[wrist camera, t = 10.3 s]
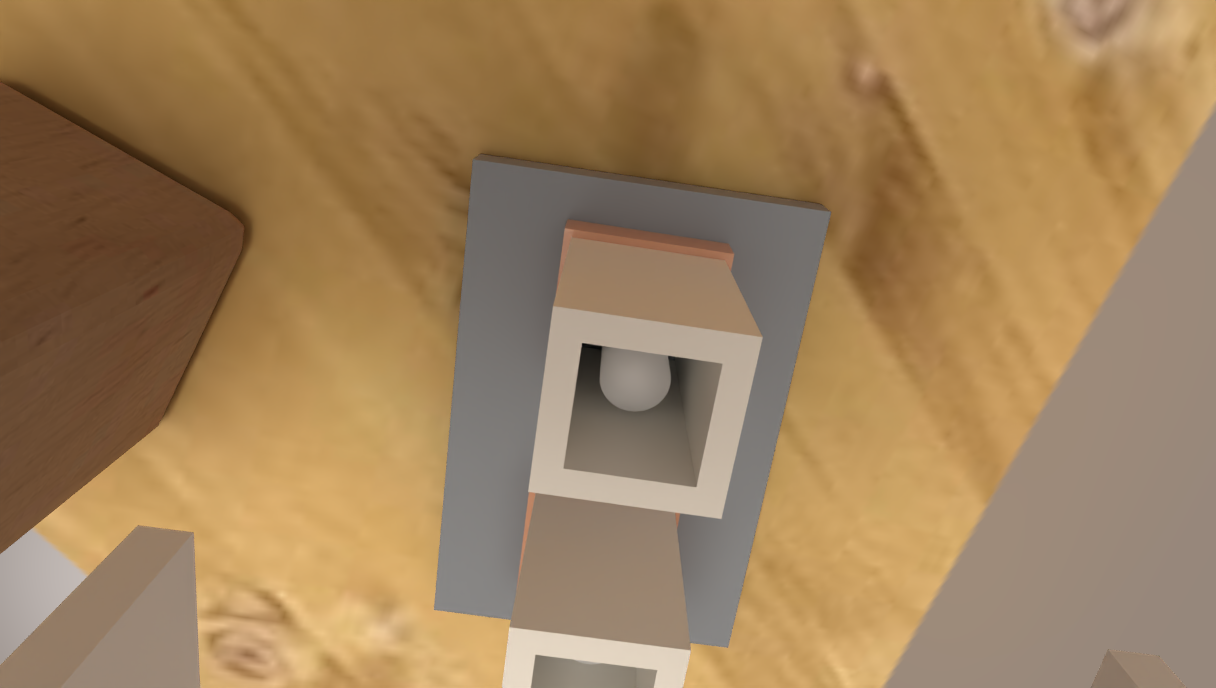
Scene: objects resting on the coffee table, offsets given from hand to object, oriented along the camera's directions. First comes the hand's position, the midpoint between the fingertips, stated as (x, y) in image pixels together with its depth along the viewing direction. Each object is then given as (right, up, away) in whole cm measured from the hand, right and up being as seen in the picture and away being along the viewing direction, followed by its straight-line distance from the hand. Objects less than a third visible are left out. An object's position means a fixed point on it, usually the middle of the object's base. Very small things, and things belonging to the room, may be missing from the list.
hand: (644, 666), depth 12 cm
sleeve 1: (0, +6, +17) cm, 18 cm away
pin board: (0, +2, +20) cm, 20 cm away
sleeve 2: (-1, -3, +20) cm, 20 cm away
